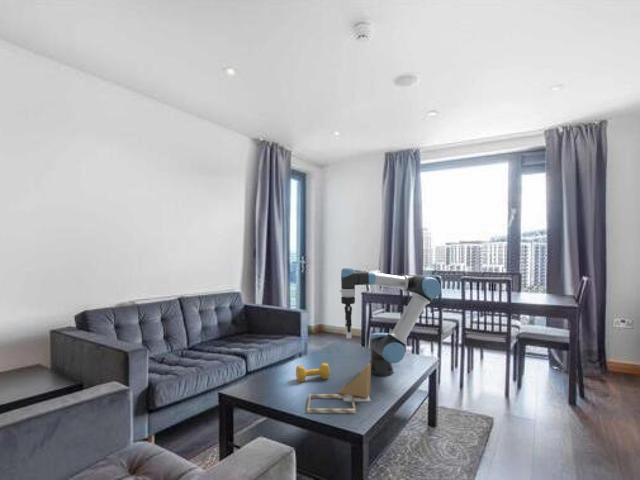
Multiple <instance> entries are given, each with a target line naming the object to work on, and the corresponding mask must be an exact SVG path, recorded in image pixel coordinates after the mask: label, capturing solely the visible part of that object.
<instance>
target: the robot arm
mask: <svg viewBox="0 0 640 480" xmlns="http://www.w3.org/2000/svg"><path fill="white" fill-rule="evenodd" d="M340 278H341V279H340V281H341V282H340V283H341V284H340V286H341V287H340V288H341V289H340V291H339V292H340V293H341V294H340V295H341V300H340V302H341V304H342V305H345V306H344V313H345V315H344V318H345V319H344V320H345V324H344V325H345V330H344V332H345V335H346V336H345V338H346V339H352V337H353V336H352V325H353V324H352V313H353V312H352V311H353V306H351V305H354V304H355V303H356V297H355V296H356V286H370V285H371V286H378V287H383V288H384V287H385V288H392V289H397V290H398V289H400V290H401V291H403V292H408V293H411V295H412V297H411V299H410V300H409V302H408V304H407V305H406V307H405V309H404V311H403V312H402V314H401V316H400V317H399V319H398V321H397V323H396V324H395V326H394V328H393V330H392V331H391V332H373V333H371V334H370V339H369V340H370V343H369V344H370V360H369V363H368V364H370V363H371V375H373V376H379V377H387V376H391V375H392V374H393V373H394V366H393V364H397V363H399V362H401V361H402V360H403V359H404V357H405V354H406V351H405V348H406V346H407V342H406V340H407V339H408V338H409V337H408V336H409V335H410V333H411V331H412V329H413V328H414V326H415V325H416V323H417V321H418V319H419V317H420V316H421V314H422V313H423V310H424V308H425V307H426V306H427V305H429V304H430V303H432V301H433V299H435V298H437V297H439V295H440V294H441V288H442V287H441V283H440V282H439V280H437V278H435V277H432V276H425V275H424V276H423V275H407V274H405V275H402V276H401V275H394V274H387V273H380V272H374V271H372V270H371V271H370V270H367V271H365V270H360V269H356V268H354V267H347V268H346V267H345V268H344V267H343V268H342V269H341V271H340Z"/></svg>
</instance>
